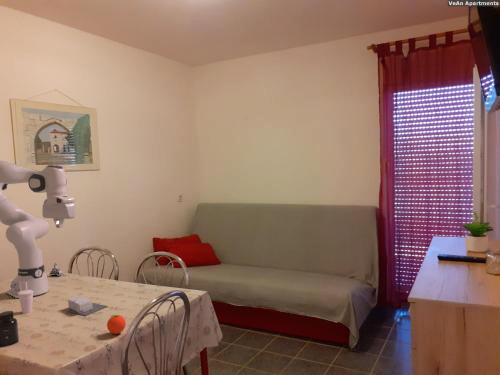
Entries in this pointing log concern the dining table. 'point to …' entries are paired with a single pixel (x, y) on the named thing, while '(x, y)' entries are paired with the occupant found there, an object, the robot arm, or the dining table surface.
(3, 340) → the supplement bottle
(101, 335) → the dining table surface
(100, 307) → the mat
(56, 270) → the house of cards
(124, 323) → the clementine
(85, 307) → the skincare box
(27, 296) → the smoothie
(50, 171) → the robot arm
